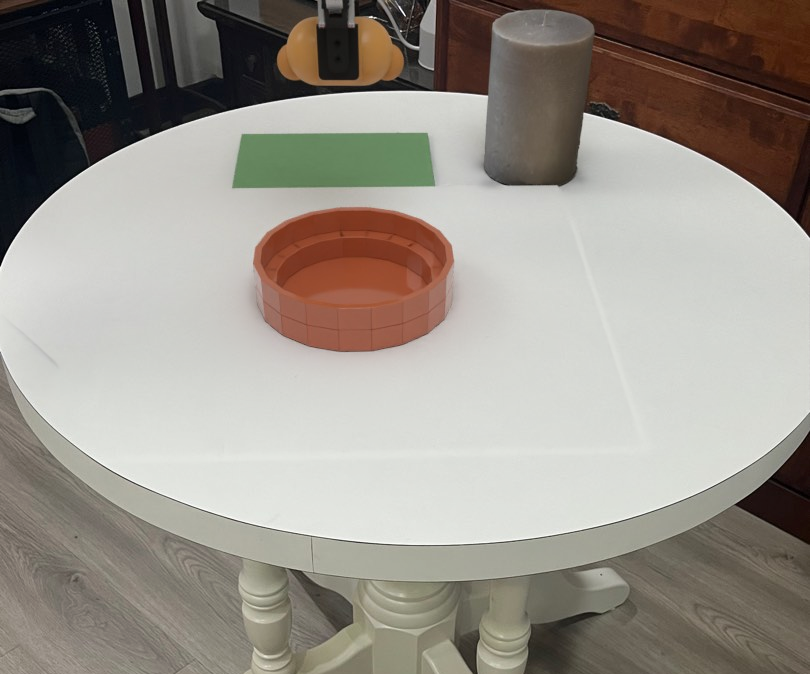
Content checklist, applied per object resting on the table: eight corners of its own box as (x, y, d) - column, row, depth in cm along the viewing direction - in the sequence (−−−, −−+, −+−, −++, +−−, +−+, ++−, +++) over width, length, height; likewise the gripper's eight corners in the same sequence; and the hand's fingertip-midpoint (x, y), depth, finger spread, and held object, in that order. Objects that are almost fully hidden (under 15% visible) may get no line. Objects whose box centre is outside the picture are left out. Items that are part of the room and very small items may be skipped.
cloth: (232, 193, 98) (231, 189, 97) (242, 137, 107) (241, 133, 107) (435, 191, 98) (435, 187, 98) (427, 136, 108) (427, 132, 107)
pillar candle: (596, 170, 102) (620, 12, 91) (531, 199, 97) (549, 37, 87) (526, 139, 107) (541, -14, 96) (462, 166, 102) (470, 8, 92)
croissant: (275, 95, 80) (270, 28, 76) (279, 71, 84) (274, 7, 80) (404, 95, 80) (405, 29, 77) (403, 72, 84) (404, 7, 80)
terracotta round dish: (252, 359, 78) (246, 309, 75) (264, 254, 89) (260, 207, 86) (458, 356, 79) (461, 306, 75) (444, 252, 90) (446, 205, 87)
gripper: (283, -233, 74) (299, 28, 87) (265, -188, 62) (287, 107, 75) (384, -232, 74) (385, 29, 87) (385, -188, 62) (387, 107, 75)
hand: (339, 62), depth 81 cm, fingers closed on croissant, 5 cm apart
